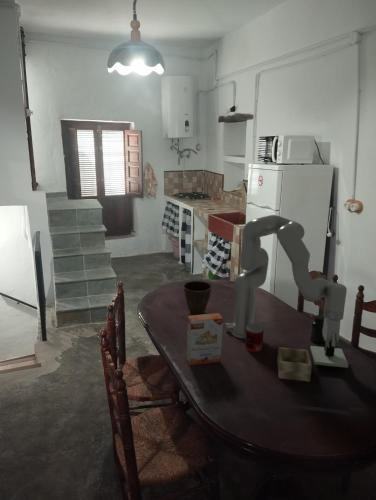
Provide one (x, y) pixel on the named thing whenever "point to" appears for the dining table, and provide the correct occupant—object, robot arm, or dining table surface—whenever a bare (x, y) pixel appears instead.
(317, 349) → the lid
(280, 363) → the pine box
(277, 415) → the dining table surface
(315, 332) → the supplement bottle
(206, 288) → the plant pot
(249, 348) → the canned food
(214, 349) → the cracker box
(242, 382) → the dining table surface
